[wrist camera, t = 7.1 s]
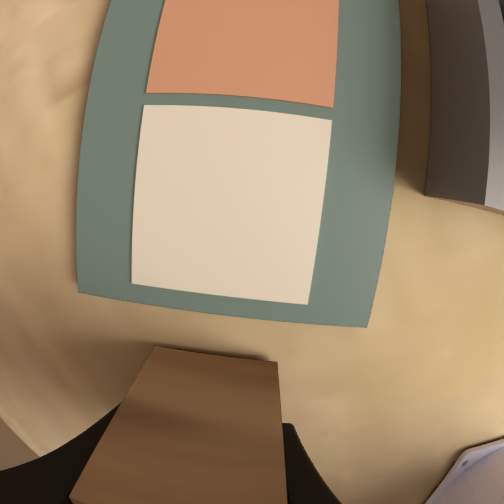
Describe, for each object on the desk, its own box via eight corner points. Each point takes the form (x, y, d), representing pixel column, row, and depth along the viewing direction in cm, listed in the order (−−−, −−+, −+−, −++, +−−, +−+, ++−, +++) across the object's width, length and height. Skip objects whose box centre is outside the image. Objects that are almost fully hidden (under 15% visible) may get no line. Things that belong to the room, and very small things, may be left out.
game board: (360, 318, 11) (367, 329, 10) (88, 285, 11) (76, 293, 10) (389, -17, 8) (397, -28, 7) (133, -35, 8) (126, -46, 7)
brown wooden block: (261, 444, 12) (260, 588, 5) (159, 430, 12) (111, 562, 5) (277, 361, 11) (289, 538, 4) (155, 346, 11) (68, 497, 4)
